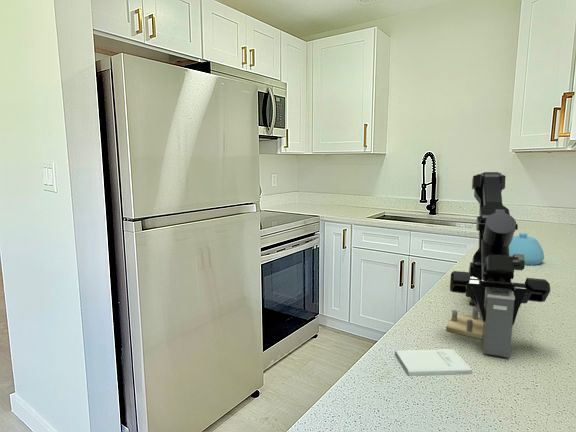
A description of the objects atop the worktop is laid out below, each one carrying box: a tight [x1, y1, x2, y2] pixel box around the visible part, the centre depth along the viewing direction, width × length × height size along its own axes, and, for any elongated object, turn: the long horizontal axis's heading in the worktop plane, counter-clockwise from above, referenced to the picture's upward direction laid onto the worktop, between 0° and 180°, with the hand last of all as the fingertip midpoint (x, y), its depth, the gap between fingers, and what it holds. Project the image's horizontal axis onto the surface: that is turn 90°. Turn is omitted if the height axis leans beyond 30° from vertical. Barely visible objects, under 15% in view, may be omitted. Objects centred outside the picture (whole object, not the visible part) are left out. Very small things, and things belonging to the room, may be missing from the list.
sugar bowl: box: [509, 232, 545, 266], centre depth 150 cm, size 15×15×12 cm
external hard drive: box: [394, 348, 473, 377], centre depth 76 cm, size 2×8×12 cm
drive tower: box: [481, 287, 515, 359], centre depth 79 cm, size 5×5×13 cm
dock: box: [445, 307, 483, 340], centre depth 91 cm, size 10×10×4 cm
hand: (498, 322), depth 77 cm, fingers closed on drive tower, 5 cm apart
